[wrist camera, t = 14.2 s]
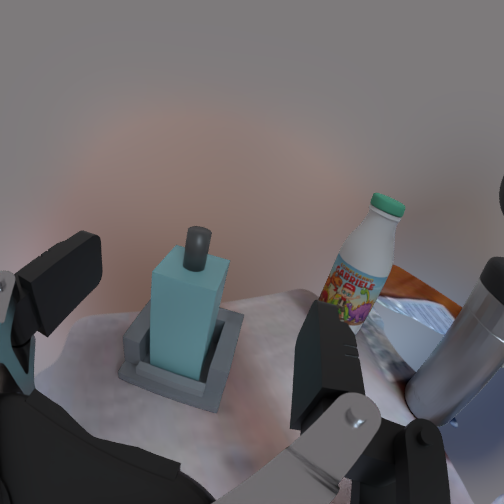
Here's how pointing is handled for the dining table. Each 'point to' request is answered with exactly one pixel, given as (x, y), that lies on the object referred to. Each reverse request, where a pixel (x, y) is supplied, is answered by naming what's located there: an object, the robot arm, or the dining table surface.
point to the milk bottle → (364, 262)
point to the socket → (176, 386)
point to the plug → (186, 305)
